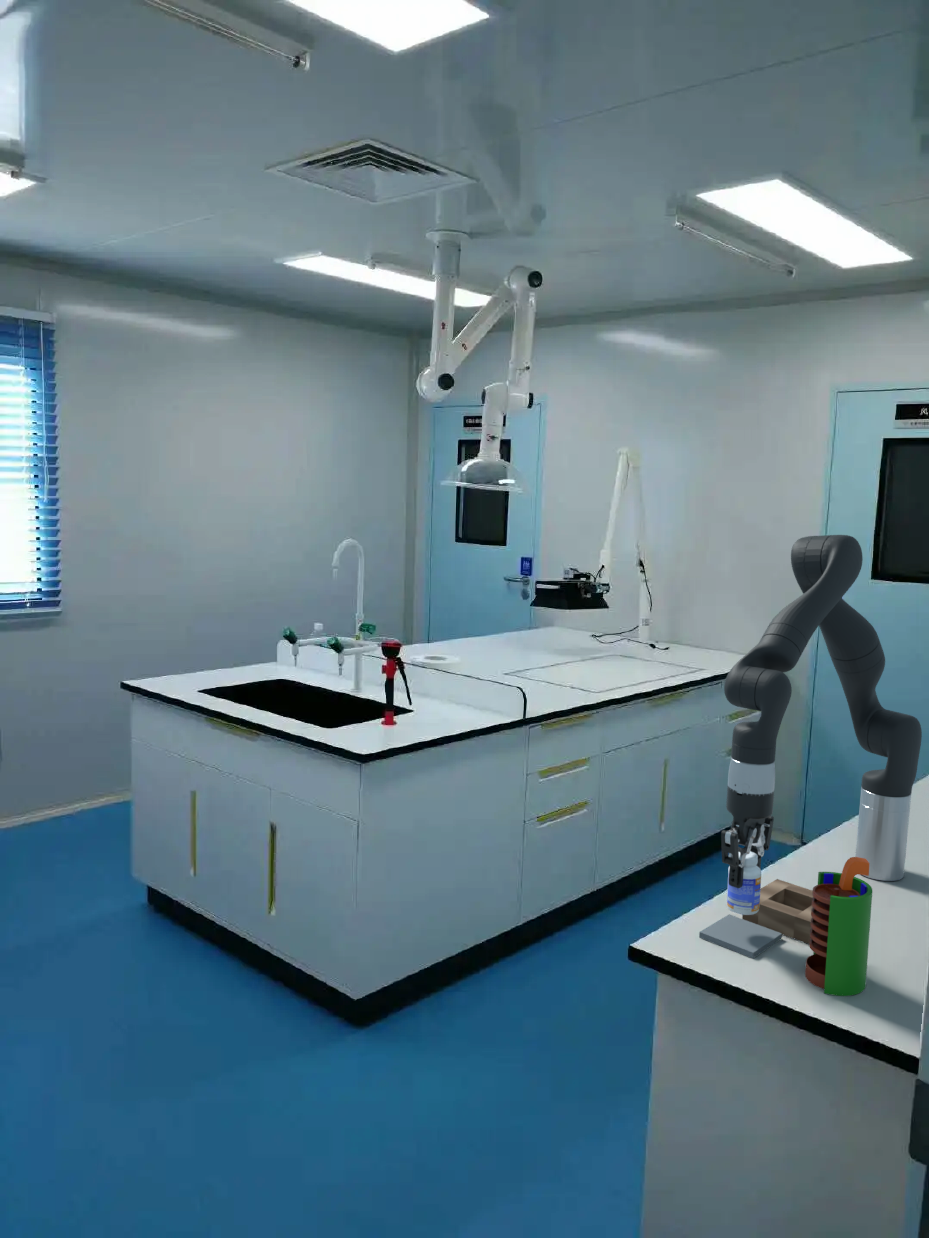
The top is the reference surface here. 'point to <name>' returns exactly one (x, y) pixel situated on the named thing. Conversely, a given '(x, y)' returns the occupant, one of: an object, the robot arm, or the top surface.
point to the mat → (740, 936)
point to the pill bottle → (746, 888)
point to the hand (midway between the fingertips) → (744, 880)
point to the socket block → (785, 910)
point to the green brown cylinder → (840, 930)
